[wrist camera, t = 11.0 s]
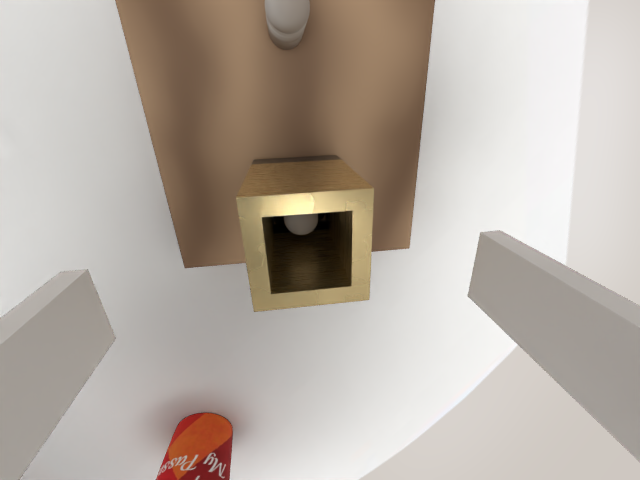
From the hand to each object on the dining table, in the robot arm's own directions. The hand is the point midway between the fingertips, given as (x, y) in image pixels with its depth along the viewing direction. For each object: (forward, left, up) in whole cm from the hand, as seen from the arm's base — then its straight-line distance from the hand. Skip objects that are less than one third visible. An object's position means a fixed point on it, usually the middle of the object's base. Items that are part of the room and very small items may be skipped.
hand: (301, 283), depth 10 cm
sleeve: (0, 0, -10) cm, 10 cm away
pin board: (0, +5, -12) cm, 13 cm away
